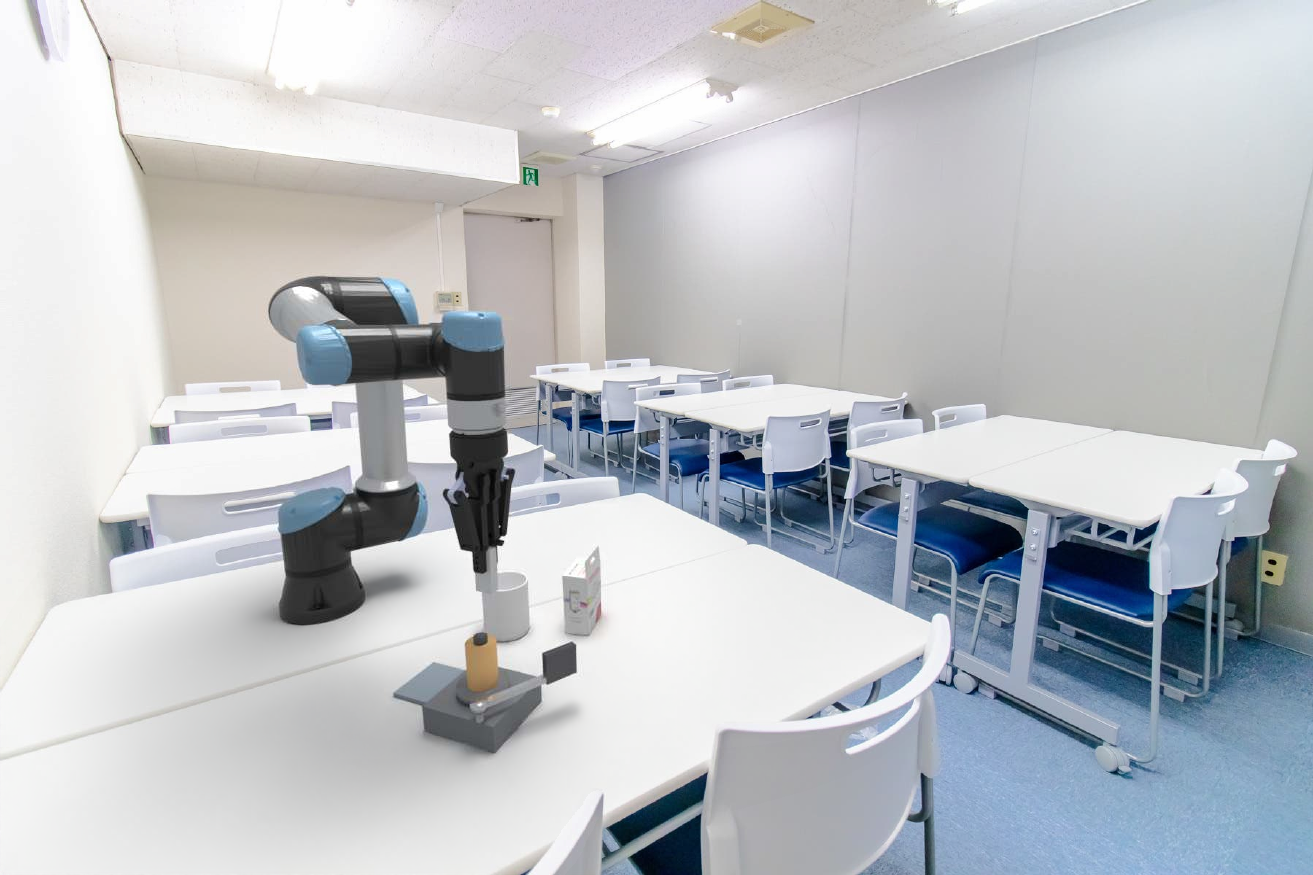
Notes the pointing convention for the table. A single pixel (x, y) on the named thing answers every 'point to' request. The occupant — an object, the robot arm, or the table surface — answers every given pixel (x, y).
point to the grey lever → (554, 668)
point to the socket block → (479, 730)
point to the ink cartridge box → (582, 594)
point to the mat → (427, 683)
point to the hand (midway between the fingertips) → (487, 590)
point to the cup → (507, 607)
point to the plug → (481, 669)
